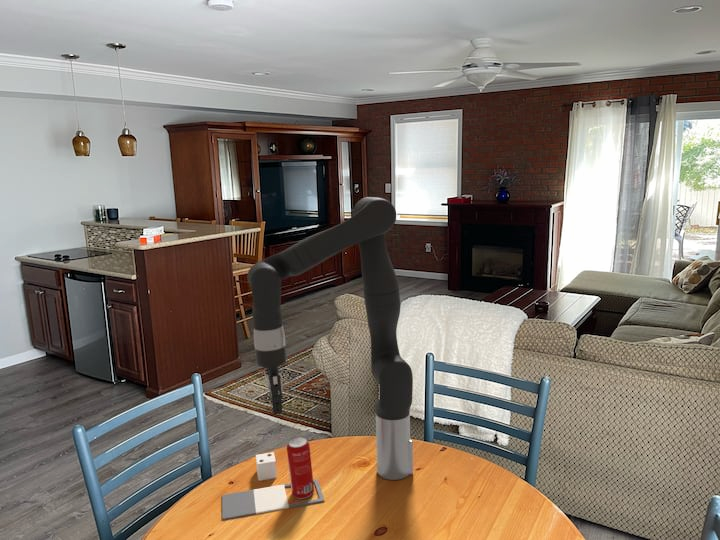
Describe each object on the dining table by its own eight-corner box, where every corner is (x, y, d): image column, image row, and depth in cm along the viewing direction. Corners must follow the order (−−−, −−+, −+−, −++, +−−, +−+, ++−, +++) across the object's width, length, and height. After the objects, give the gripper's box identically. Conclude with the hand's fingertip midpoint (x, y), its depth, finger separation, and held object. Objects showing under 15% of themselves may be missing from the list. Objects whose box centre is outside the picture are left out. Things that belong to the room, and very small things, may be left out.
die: (274, 468, 150) (273, 451, 149) (276, 477, 145) (275, 460, 144) (256, 471, 149) (255, 454, 148) (258, 481, 144) (256, 463, 143)
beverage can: (318, 489, 139) (315, 436, 137) (305, 503, 134) (302, 448, 131) (298, 484, 142) (295, 432, 139) (285, 498, 136) (282, 444, 133)
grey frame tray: (317, 480, 144) (317, 478, 144) (324, 501, 134) (324, 500, 134) (222, 496, 138) (222, 494, 137) (222, 520, 128) (222, 518, 128)
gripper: (288, 351, 124) (294, 415, 127) (282, 334, 137) (287, 392, 141) (256, 356, 122) (263, 421, 125) (252, 337, 136) (259, 397, 139)
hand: (276, 406), depth 133 cm, fingers open, 8 cm apart
